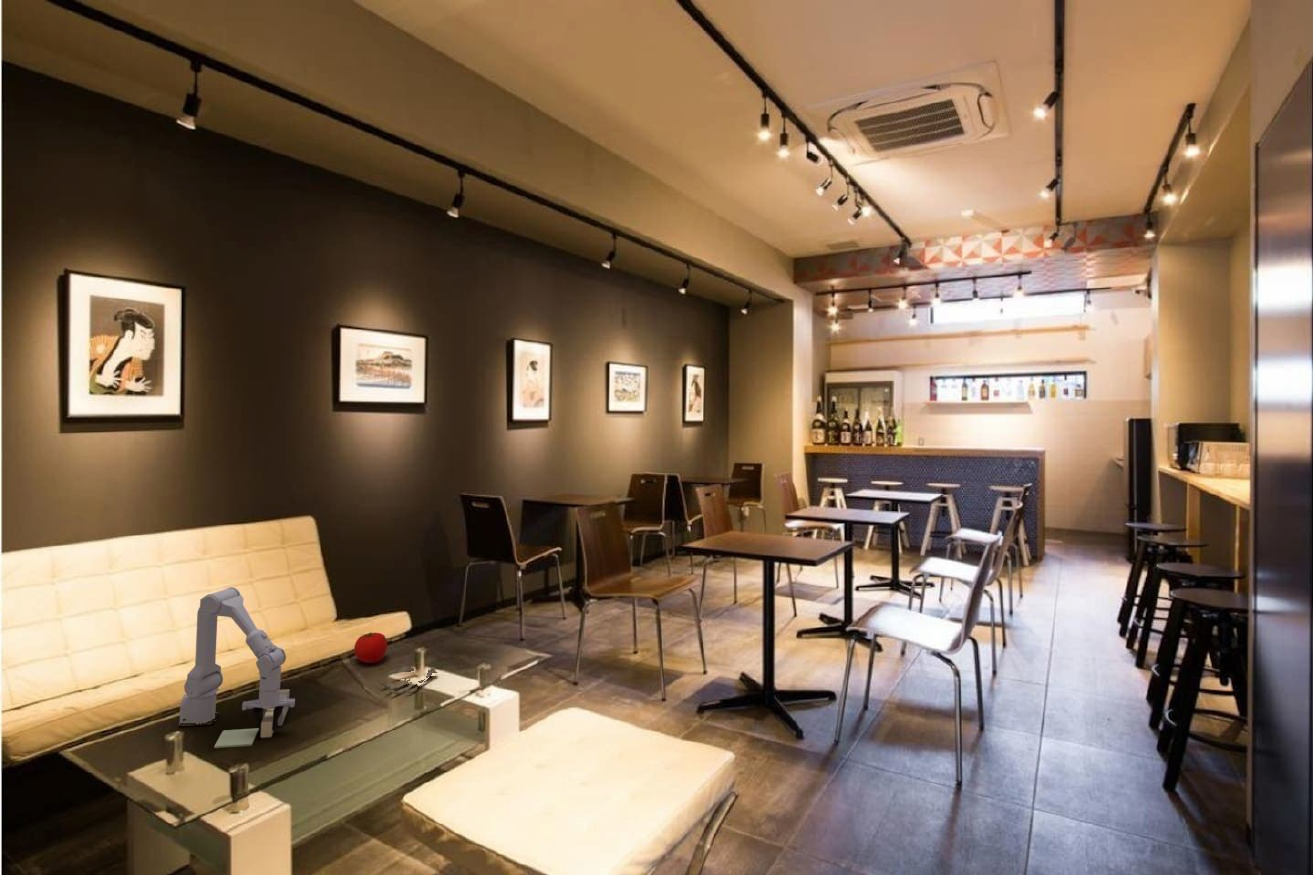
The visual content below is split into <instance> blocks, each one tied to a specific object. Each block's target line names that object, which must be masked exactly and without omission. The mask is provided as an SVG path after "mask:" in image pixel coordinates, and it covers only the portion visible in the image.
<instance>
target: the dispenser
mask: <svg viewBox="0 0 1313 875" xmlns="http://www.w3.org/2000/svg"><path fill="white" fill-rule="evenodd" d="M290 690H291V689H288V688H287V689H280V696H279V698H286V699H290ZM270 709H275V707H271V708H270ZM289 709H290V706H289V707H284V708H283V710H282V712H281V714H280V716H279V718H278V721H277V726H278V727H281V726H283V723H284V721H285V718H286V717H287V713H288V712H289ZM267 710H269V709H264V713H263V718H264V715H265V713H266V711H267Z"/></svg>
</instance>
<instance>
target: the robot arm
mask: <svg viewBox="0 0 1313 875" xmlns="http://www.w3.org/2000/svg"><path fill="white" fill-rule="evenodd" d="M199 600H200V603H199V608H198V610H197V612H196V615H197V616H196V637H195V638H196V639H195V660H194V662H195V663H194V664H195V665H194V666H193V668H191V670H190V671H189V672H188V673H187V676H186V677H187V678H186V681H185V683H184V686H183V688H184V693H185V694H184V695H183V696H182V698H181V702H180V705H179V706H180V708H179V724H180V723H196V724H199V723H200V724H201V723H206V722H208V721H211V720H212V719H214V718H215V713H217V712H216V711H217V710H216V709H217V708H216V707H217V692H218V691H219V687H221V685H222V684H223V682H224V676H223V674H222V666H221V665H219V664H217V663H216V657H217V656H216V655H217V636H218V634H217V632H218V631H217V630H218V617H225V618H226V617H227V618H230V619H231V620H233V622H234V623H235V625H237V626H238V628H239V629H240V630H241V631H242V632H243V634H244V635H245V636H246V637H245V638H246V639H245V643H246V645H247V646H248V647H249V649H250V650H251V652H252V654H254V656H255V657H256V659H257V661H255V662H256V663H255V664H256V667H257V669H258V675H259V692H258V699H252V700H247V701H245V700H244V701H243V702H242V705H241V706H242V707H241V709H242V710H241V711H245V710H251V709H252V716H253V718H254V719H255V722H256V724H257V726H258V727H257V728H259V730H258V732H260V733H261V722H262V720H263V713H264V709H270V708H271V707H275V709H274V711H273V727H272V731H273V732H275V731H276V729H277V725H278V718H279V716H280V714H281V712H282V710H283V708H284V707H289V708H294V707H295V705H296V703H295V702H296V698H289V699H286V698H279V696H280V690H281V679H282V678H281V677H282V676H281V675H282V665H283V664H285V662H286V660H287V659H286V658H287V655H286V652H285V651H284V649H283V648H282V647H279V646H277V645H275V644H274V643H273V642H272V640H271V639H270V638H269V636H268V633H267V632H265V630H263V629H258V628H257V627H256V624H255V623H254V621H253V619H252V618H251V616H250V614H249V612H248V610H247V609H246V607H245V605H244V597H243V595H241V592H240V591H239V589H238V588H236V587H233V586H232V587H231V586H230V587H228V588H225V589H223V590H220V591H215V592H213V593H209V594H207V595H205V596H203V597H202V598H200V599H199ZM183 719H186V720H183Z"/></svg>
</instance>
